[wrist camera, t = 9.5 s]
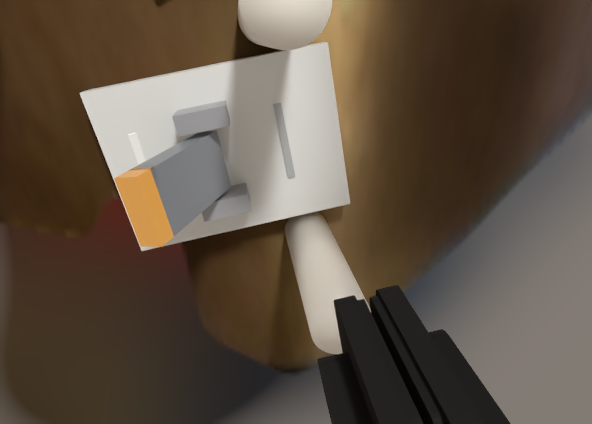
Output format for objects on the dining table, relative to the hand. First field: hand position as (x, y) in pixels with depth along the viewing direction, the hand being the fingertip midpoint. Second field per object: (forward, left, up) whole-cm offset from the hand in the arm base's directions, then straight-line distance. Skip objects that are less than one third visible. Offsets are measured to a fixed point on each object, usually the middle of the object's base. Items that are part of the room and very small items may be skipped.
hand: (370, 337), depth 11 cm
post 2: (-1, +9, -25) cm, 27 cm away
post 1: (-1, -9, -25) cm, 27 cm away
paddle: (+5, 0, -22) cm, 23 cm away
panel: (+4, 0, -25) cm, 26 cm away
